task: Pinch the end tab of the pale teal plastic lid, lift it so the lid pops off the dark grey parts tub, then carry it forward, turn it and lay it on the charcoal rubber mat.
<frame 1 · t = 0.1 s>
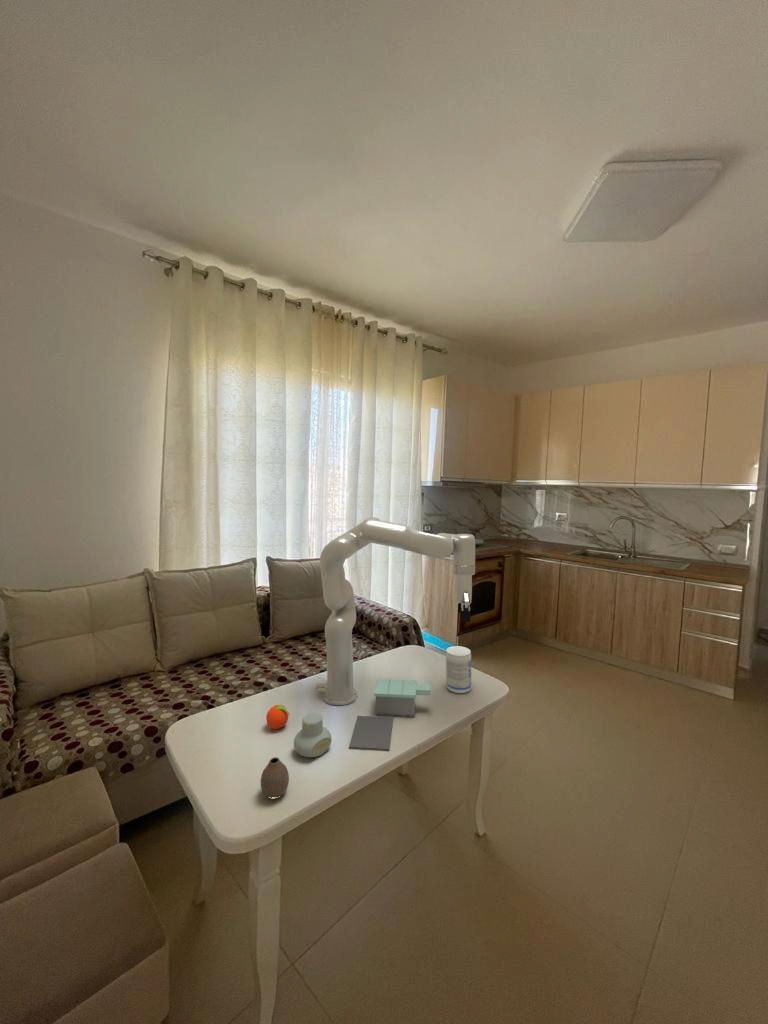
hand: (464, 617, 140), 31 cm above the table, fingers open, 9 cm apart
air freshener: (312, 750, 117), on the table
supplement tub: (458, 688, 152), on the table
mat: (372, 732, 125), on the table
vase: (275, 794, 100), on the table
lid: (395, 689, 137), point 7 cm above the table, touching tub
clementine: (279, 727, 128), on the table
tub: (395, 709, 138), on the table
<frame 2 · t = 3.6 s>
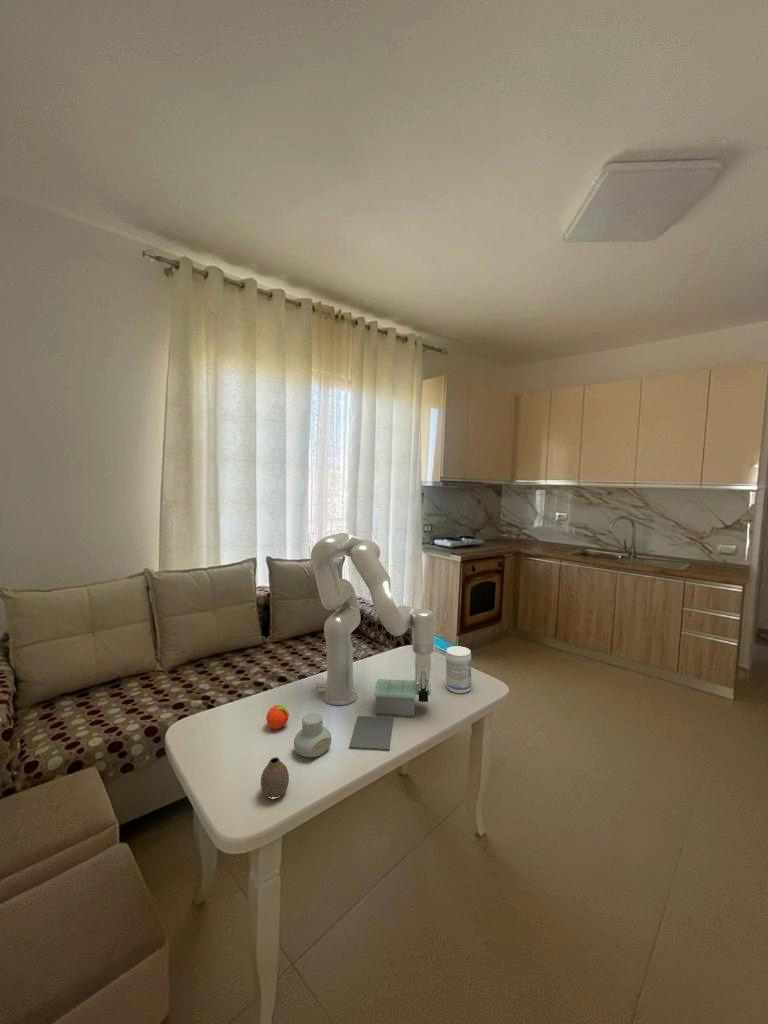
hand: (423, 697, 137), 5 cm above the table, fingers closed on lid, 4 cm apart
lid: (395, 689, 137), point 7 cm above the table, touching gripper, tub
everything else where it was.
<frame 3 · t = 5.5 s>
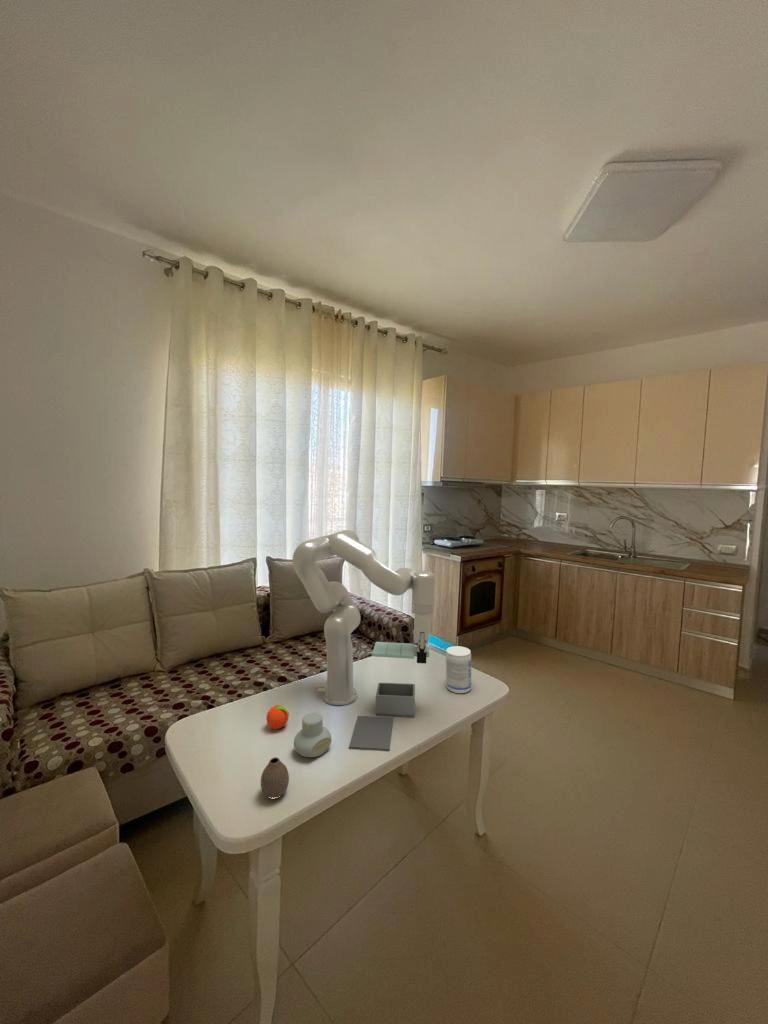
hand: (421, 659, 136), 18 cm above the table, fingers closed on lid, 4 cm apart
lid: (394, 651, 137), point 21 cm above the table, touching gripper
everything else where it was.
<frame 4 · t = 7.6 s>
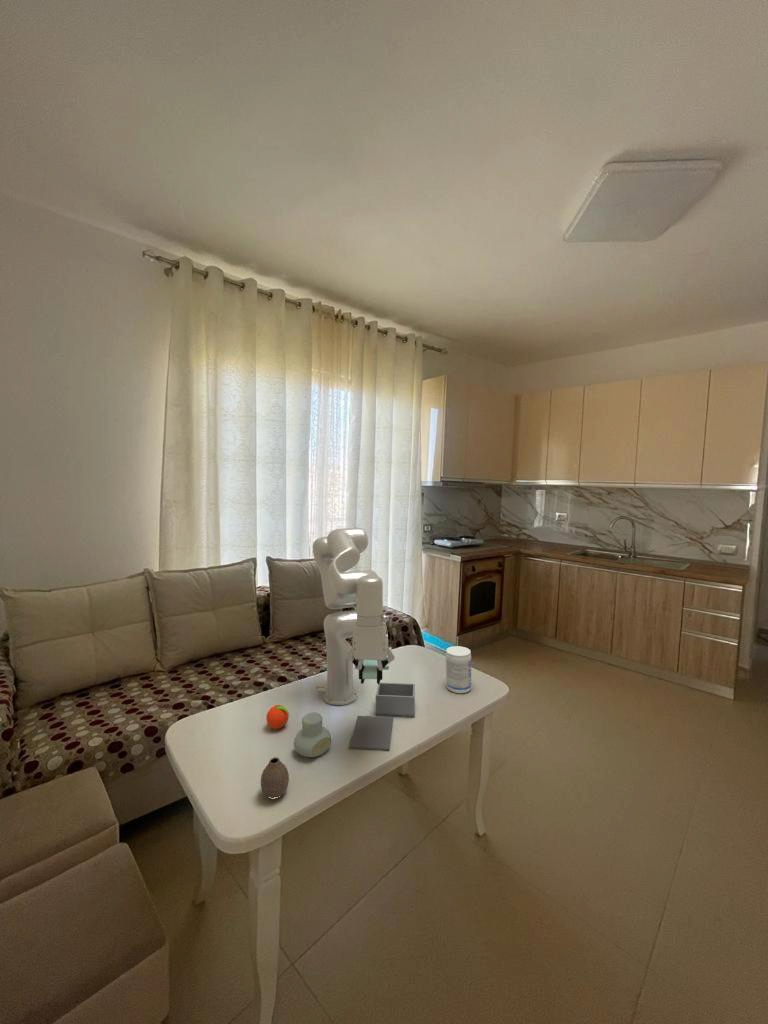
hand: (370, 681, 114), 21 cm above the table, fingers closed on lid, 4 cm apart
lid: (374, 659, 123), point 24 cm above the table, touching gripper
everything else where it was.
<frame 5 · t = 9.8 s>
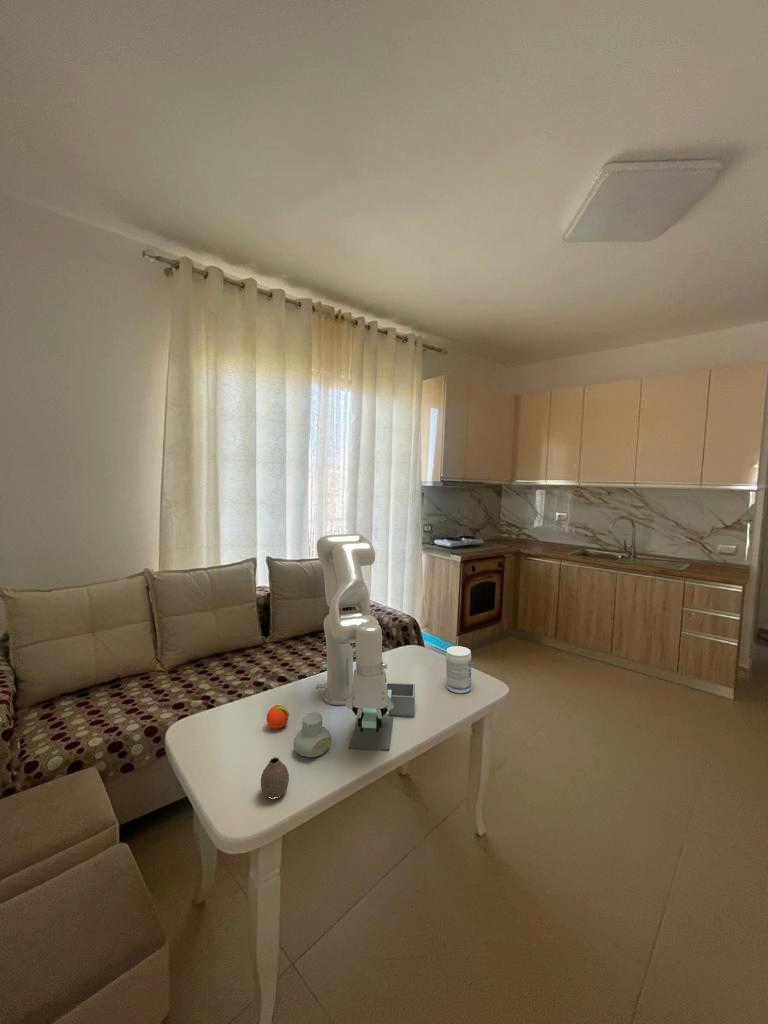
hand: (370, 728, 114), 8 cm above the table, fingers closed on lid, 4 cm apart
lid: (374, 703, 124), point 10 cm above the table, touching gripper
everything else where it was.
when the fingers open (1 cm above the table, at t = 11.6 s): lid drops 3 cm, resting on mat.
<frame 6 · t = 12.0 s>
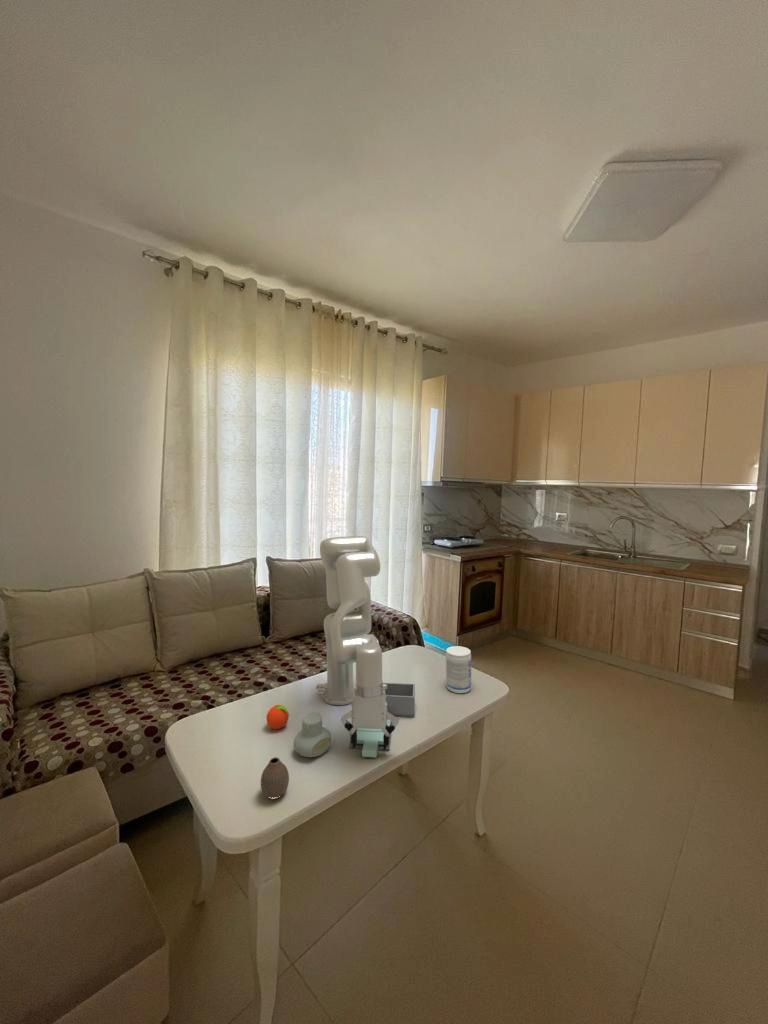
hand: (369, 745, 115), 2 cm above the table, fingers open, 8 cm apart
lid: (373, 729, 124), point 1 cm above the table, touching mat
everything else where it was.
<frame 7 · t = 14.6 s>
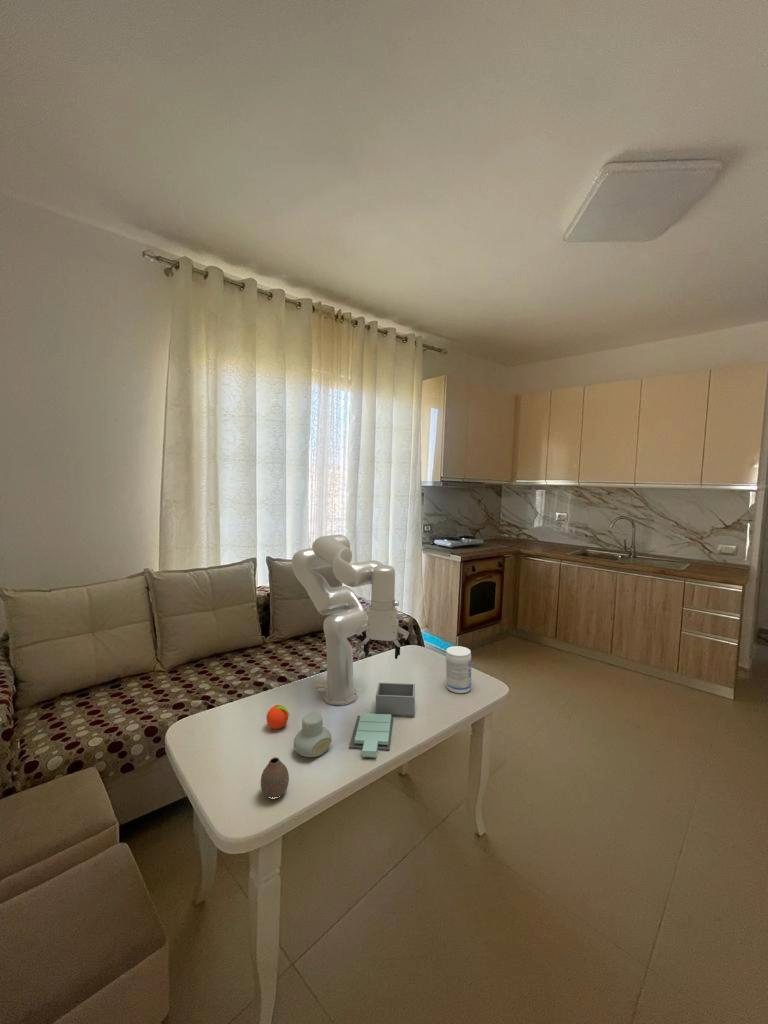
hand: (381, 655, 128), 23 cm above the table, fingers open, 9 cm apart
nothing on the table moved.
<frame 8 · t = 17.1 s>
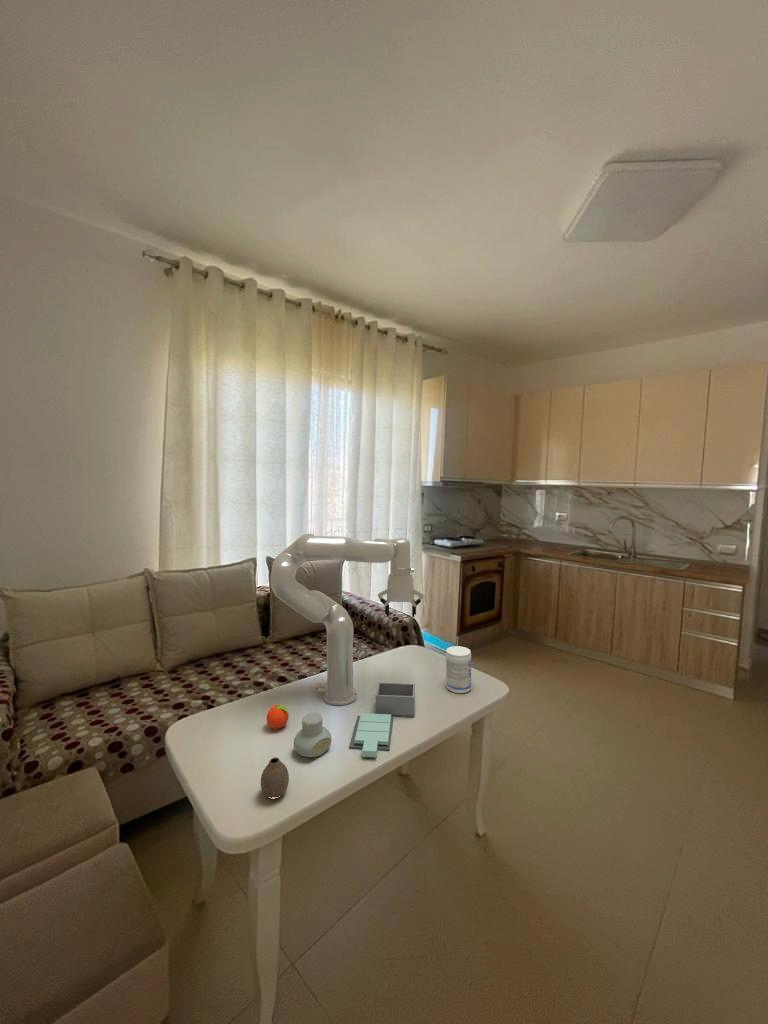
hand: (400, 615, 150), 28 cm above the table, fingers open, 9 cm apart
nothing on the table moved.
at the end: lid inside the target area on the mat (0.5 cm from its centre), point 1.2 cm above the mat's base; lid touching mat; the gripper is holding nothing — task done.
